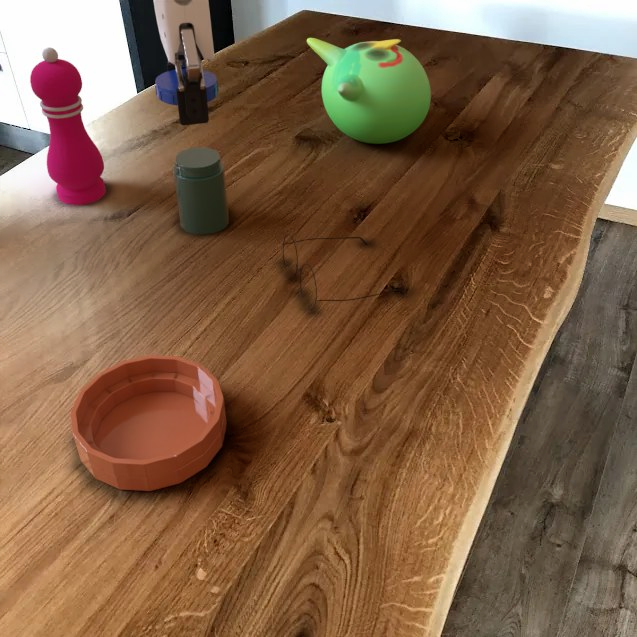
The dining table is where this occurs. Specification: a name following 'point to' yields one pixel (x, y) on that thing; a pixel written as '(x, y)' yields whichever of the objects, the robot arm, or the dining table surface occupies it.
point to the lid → (169, 84)
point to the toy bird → (373, 89)
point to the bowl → (149, 422)
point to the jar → (201, 190)
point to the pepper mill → (67, 132)
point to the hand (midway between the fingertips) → (189, 108)
